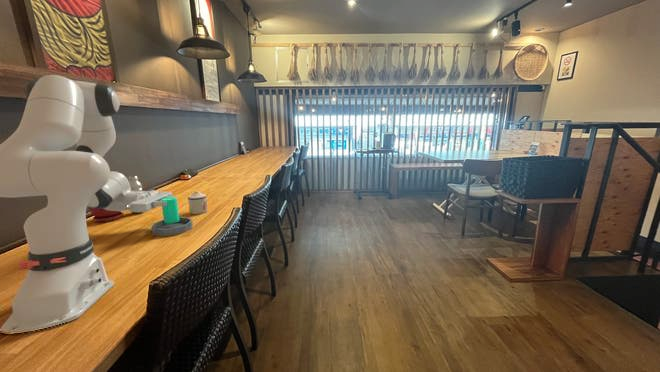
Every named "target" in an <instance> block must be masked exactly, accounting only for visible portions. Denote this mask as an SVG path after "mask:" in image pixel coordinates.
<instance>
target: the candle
mask: <svg viewBox="0 0 660 372" xmlns="http://www.w3.org/2000/svg"><path fill="white" fill-rule="evenodd" d="M174 197H175V196H173V197H169V195H168V198H163V199H162V200H161V202H162V201H167V202H168V205H167V206H161V209H162V217H163V220H164V223H175V222H178V221H179V217H180V214H179V205H178V198H177V197H176V198H174Z"/></svg>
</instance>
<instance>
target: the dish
mask: <svg viewBox="0 0 660 372" xmlns="http://www.w3.org/2000/svg"><path fill="white" fill-rule="evenodd" d="M193 222H194V221H193V219H192V218H191V217H187V216H186V217H184V216H179V221H178V222H175V223H164V219H162V220H159V221H156V222H154V223H152V225H151V226H150V228H151V233H152V235H154V236H155V237H169V236H170V237H171V236H176V235H180V234H183V233H187V232H188V231H190V230H192V229H193V226H194V225H193V224H194V223H193Z"/></svg>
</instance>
